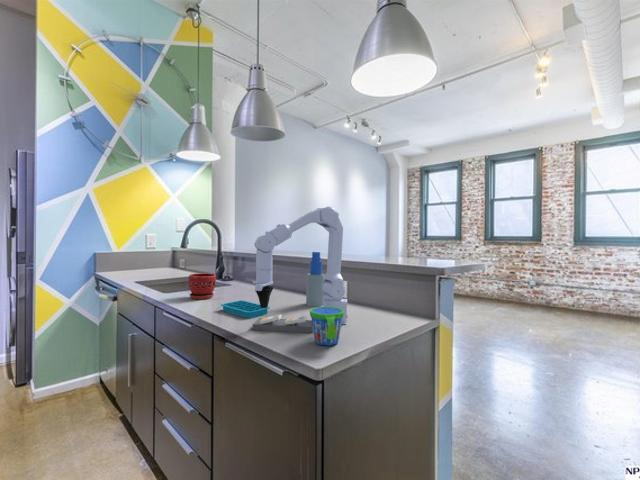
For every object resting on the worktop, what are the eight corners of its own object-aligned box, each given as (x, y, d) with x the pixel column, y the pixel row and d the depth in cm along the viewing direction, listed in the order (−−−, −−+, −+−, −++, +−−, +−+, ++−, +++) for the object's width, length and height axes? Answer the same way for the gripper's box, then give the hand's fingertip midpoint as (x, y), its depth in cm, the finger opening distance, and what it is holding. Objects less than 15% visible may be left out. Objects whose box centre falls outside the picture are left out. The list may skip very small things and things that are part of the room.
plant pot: (199, 301, 152) (199, 277, 152) (183, 298, 160) (183, 274, 159) (221, 297, 163) (221, 274, 163) (205, 294, 171) (205, 272, 170)
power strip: (314, 325, 116) (314, 318, 116) (311, 332, 108) (312, 324, 108) (259, 323, 118) (259, 315, 118) (252, 329, 110) (252, 321, 110)
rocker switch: (306, 318, 112) (306, 315, 112) (305, 321, 108) (304, 318, 108) (287, 321, 113) (287, 318, 113) (285, 324, 109) (284, 321, 109)
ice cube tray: (241, 306, 145) (241, 300, 145) (271, 314, 132) (271, 307, 132) (219, 311, 136) (219, 304, 136) (248, 320, 123) (248, 312, 123)
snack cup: (309, 334, 106) (309, 304, 106) (340, 334, 107) (340, 304, 107) (309, 351, 91) (310, 316, 91) (346, 351, 91) (346, 316, 91)
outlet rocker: (281, 316, 113) (280, 313, 113) (279, 319, 109) (278, 316, 109) (263, 321, 114) (262, 318, 114) (260, 324, 110) (259, 321, 110)
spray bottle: (302, 304, 149) (303, 251, 148) (313, 301, 156) (314, 251, 156) (317, 307, 144) (318, 252, 143) (328, 304, 151) (329, 251, 150)
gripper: (259, 266, 119) (259, 302, 119) (246, 271, 104) (246, 312, 105) (277, 267, 118) (277, 303, 119) (267, 272, 104) (266, 313, 104)
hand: (264, 307), depth 112 cm, fingers closed
